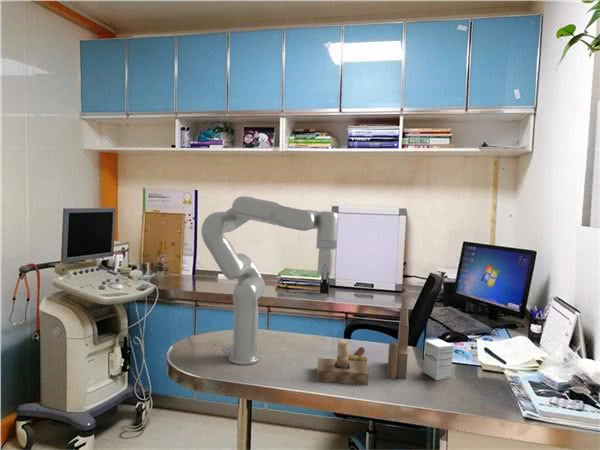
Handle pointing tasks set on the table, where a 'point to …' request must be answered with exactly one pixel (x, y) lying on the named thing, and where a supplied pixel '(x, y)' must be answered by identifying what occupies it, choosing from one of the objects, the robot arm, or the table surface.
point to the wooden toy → (399, 349)
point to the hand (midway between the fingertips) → (324, 293)
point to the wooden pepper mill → (342, 354)
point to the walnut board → (342, 372)
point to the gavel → (358, 356)
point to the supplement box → (438, 359)
